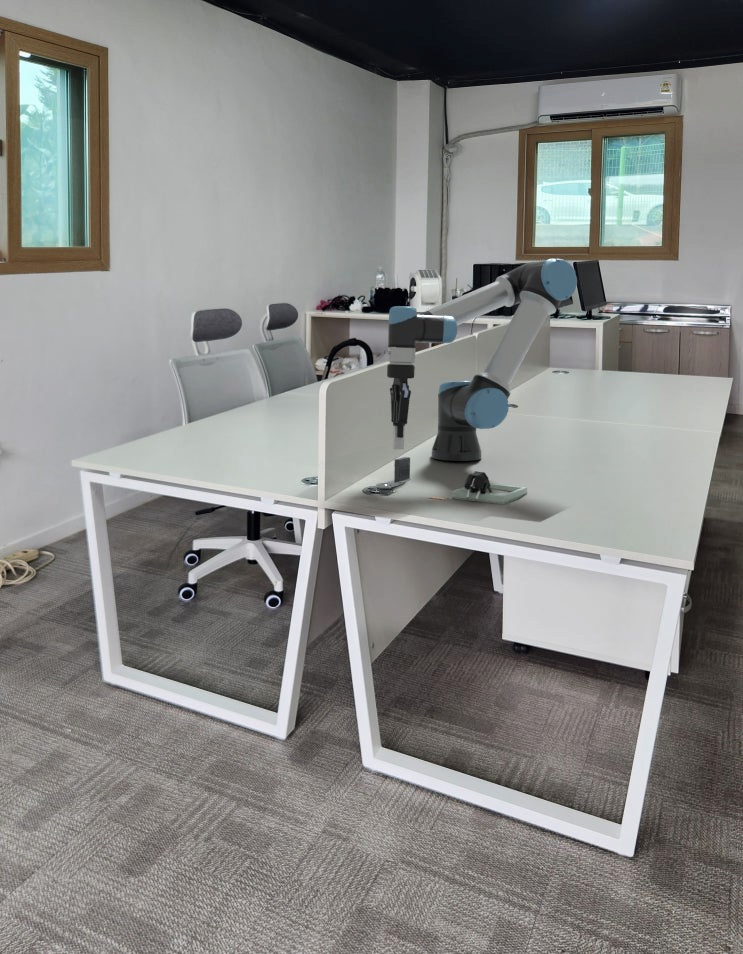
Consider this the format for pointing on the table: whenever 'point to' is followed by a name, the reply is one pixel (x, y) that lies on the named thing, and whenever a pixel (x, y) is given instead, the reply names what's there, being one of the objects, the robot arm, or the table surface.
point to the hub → (384, 491)
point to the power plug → (477, 484)
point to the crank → (398, 474)
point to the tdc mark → (437, 498)
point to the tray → (492, 494)
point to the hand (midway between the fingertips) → (398, 448)
